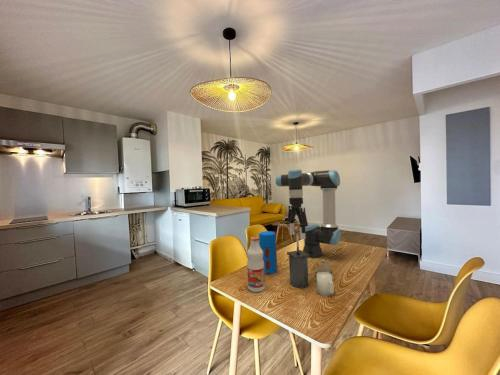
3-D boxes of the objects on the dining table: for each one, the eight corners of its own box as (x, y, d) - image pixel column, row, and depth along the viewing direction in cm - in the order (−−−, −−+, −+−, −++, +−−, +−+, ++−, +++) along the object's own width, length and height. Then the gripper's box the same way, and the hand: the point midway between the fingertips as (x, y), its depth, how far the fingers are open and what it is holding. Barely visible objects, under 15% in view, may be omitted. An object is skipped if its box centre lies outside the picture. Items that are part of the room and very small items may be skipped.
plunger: (300, 255, 122) (299, 224, 122) (308, 259, 115) (307, 227, 114) (288, 257, 119) (287, 226, 119) (296, 261, 112) (294, 229, 112)
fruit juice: (268, 287, 114) (266, 237, 114) (256, 294, 108) (254, 241, 107) (256, 282, 121) (254, 234, 120) (244, 288, 115) (242, 238, 114)
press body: (299, 276, 126) (298, 248, 126) (312, 285, 114) (311, 255, 114) (285, 279, 123) (284, 251, 122) (296, 289, 111) (295, 258, 110)
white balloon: (326, 287, 112) (325, 270, 112) (339, 296, 103) (338, 278, 103) (314, 289, 110) (313, 273, 110) (326, 299, 100) (326, 281, 100)
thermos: (276, 275, 129) (274, 235, 128) (259, 274, 131) (257, 235, 130) (277, 268, 140) (276, 231, 139) (261, 267, 142) (260, 231, 141)
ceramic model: (332, 284, 114) (332, 266, 114) (312, 281, 120) (311, 263, 120) (335, 274, 127) (335, 258, 127) (316, 271, 132) (316, 255, 132)
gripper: (280, 196, 126) (282, 232, 126) (301, 198, 104) (303, 242, 105) (291, 195, 128) (292, 231, 129) (314, 197, 107) (315, 240, 107)
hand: (297, 236), depth 117 cm, fingers open, 10 cm apart
